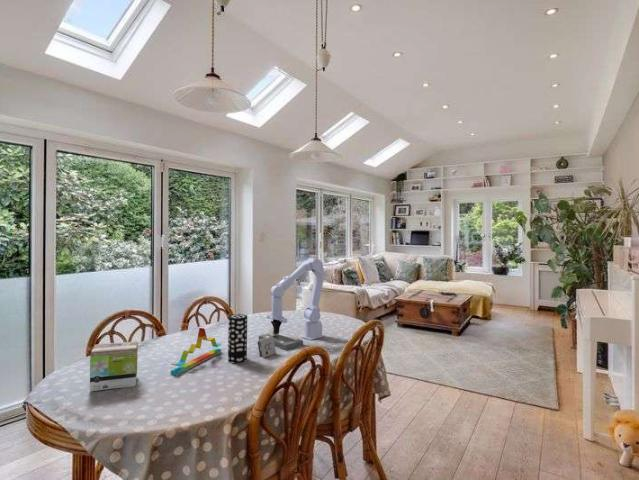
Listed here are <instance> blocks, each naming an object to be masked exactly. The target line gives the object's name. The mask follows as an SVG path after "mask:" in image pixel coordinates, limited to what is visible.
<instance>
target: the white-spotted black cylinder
mask: <svg viewBox="0 0 639 480" xmlns="http://www.w3.org/2000/svg"><path fill="white" fill-rule="evenodd" d="M227 328H228V329H227V330H228V334H227V337H228V338H227V343H228V344H227V362H229V363H230V364H243V363H245V362H247V359H248V315H247V314H241V313H240V314H239V313H237V314H230V315H228V326H227Z"/></svg>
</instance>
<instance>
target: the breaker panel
mask: <svg viewBox="0 0 639 480" xmlns="http://www.w3.org/2000/svg"><path fill="white" fill-rule="evenodd" d="M268 337H271V335H269V333H264V334H261V335H258V341H260V340H261V339H264V338H268ZM273 338H274V343H275V348H278V349H281V350H283V351H287V350H291V349H294V348H295V349H296V348H298V347H303V345H304V340H303V339H301V338H297V337H294V336H291V335H288V334H285V333H281V332H279V335H276V336H273Z"/></svg>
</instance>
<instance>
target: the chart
mask: <svg viewBox="0 0 639 480" xmlns="http://www.w3.org/2000/svg"><path fill="white" fill-rule="evenodd" d="M203 341H206V342H207V341H208V342H210V343H211V345H212V347H213V348H214V349H211V350H209V351H208V352H206V353H204V354H202V355H199V356H197V357H195V358H193V359H191V360H189V361H187V362H186V360H187V358H188V356H189V354H194V352H195V351H196V349H202V343H203ZM221 344H222V343H217V342H216V339H215V337H210V336H209V337H208V336H207V333H206V329H205V328H203V327H198V334H197V339H196V344H194V343H191V344H190V346H189V349H188V350H183V351H182V354H181V356H180V359H179V361H178V362H177V363H171V365H172V366H176V367H175V368H173V369H170V375H171V376H178V375H181V374H182V373H184V372H186V371H189V370H190V369H192V368H194V367H196V366H198V365H200V364H202V363H204V362H206V361H208V360H209V359H211V358H213V357H215V356H217V355H219V354H220V353H221V354H222V348H219V347H220V346H221Z"/></svg>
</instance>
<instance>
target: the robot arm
mask: <svg viewBox="0 0 639 480" xmlns="http://www.w3.org/2000/svg"><path fill="white" fill-rule="evenodd" d="M310 271H311V272H312V274H313V275H314V279H313V284H312V289H311V292H310V297H309V303H307V305H306V308H305V310H304V311H303V316H304V319H305V321H304V322H305V325H304V335H302V336H301V337H302V338H304V339H308V340H311V341H313V340H317V339H320V338H323V337H324V335H323V323H322V321H321V320H320V319H321V313H320V312H321V309H320V308H321V307H320V301H321V295H322V289H323V286H324V281H325V277H326V275H325V274H326V273H325V269H324V263H323V261H322V260H321V259H319V258H313V257H308V258H307V259H306V260H304V261H303V262H302V263H301V264H300V265H299V266H298V267H297V268H296V269H295V270H294V271H293V272H292V273H291V274H290V275H286V276H283V277H282V280H280V281H279V282H277V283H276V285H273V286H272V287H271V289H270V290H269V292H270V293H269V294H270V295H271V313H268V314H266V319H270V320H271V321H270V323H271V325H272V328H274V334H279V333H280V327H281V325H282V323H283V324H286V323H288V319H287V318H285V317H284V316H283V296H284V295H285V293H286V291H287V290H288V289H290V288H291V287H292V286H293V285H294V283H295V280H297V278H299V277H300V276H302V275H303V274H304V273H305V272H310Z"/></svg>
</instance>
